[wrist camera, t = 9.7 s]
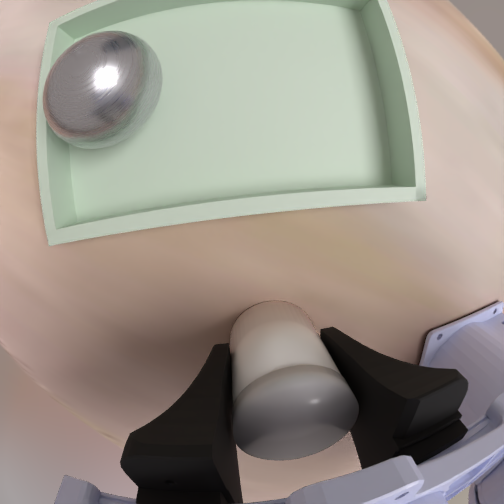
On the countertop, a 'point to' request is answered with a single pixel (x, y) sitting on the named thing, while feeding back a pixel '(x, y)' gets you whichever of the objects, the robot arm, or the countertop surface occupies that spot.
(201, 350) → the countertop surface
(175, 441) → the robot arm
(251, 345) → the shaker
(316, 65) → the tray
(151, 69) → the ball
